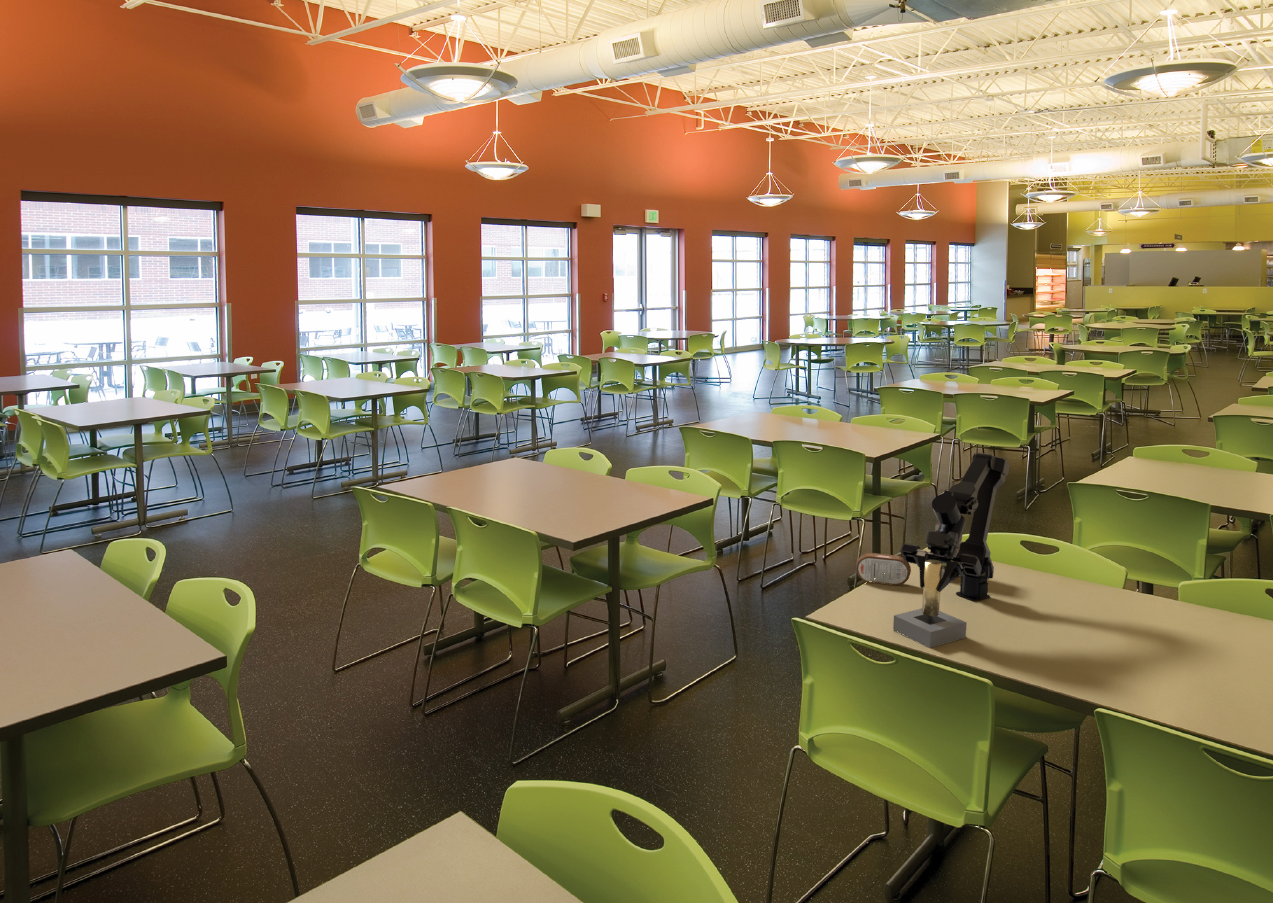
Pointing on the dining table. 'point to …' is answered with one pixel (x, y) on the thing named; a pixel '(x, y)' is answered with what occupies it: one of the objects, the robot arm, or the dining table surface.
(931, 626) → the dock block
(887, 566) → the tin
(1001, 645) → the dining table surface
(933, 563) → the peg
